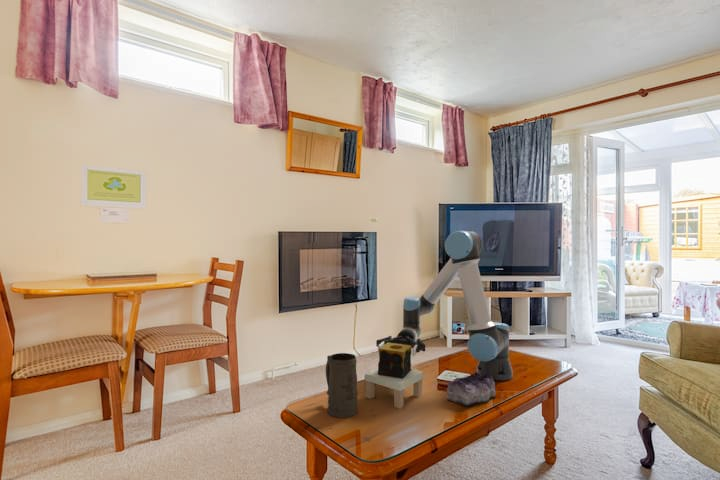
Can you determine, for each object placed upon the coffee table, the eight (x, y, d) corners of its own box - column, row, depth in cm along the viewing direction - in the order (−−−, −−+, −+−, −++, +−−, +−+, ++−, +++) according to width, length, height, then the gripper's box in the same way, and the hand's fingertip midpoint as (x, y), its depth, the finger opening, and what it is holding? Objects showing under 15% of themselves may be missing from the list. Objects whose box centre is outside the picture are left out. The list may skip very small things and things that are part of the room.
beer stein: (365, 411, 138) (362, 354, 138) (344, 421, 130) (341, 361, 130) (334, 401, 148) (332, 349, 148) (313, 410, 140) (311, 355, 140)
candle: (377, 375, 148) (377, 348, 148) (386, 366, 157) (387, 341, 157) (403, 379, 144) (403, 352, 143) (411, 370, 153) (411, 345, 153)
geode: (479, 388, 160) (482, 364, 158) (501, 403, 149) (505, 378, 148) (439, 396, 150) (443, 371, 149) (461, 412, 140) (465, 385, 138)
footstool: (422, 395, 152) (423, 371, 152) (400, 409, 139) (400, 384, 139) (388, 384, 162) (388, 363, 162) (364, 397, 150) (364, 373, 149)
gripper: (435, 348, 170) (428, 364, 150) (379, 343, 178) (365, 357, 157) (435, 331, 170) (428, 344, 149) (379, 326, 177) (365, 338, 157)
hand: (396, 351), depth 153 cm, fingers open, 13 cm apart
